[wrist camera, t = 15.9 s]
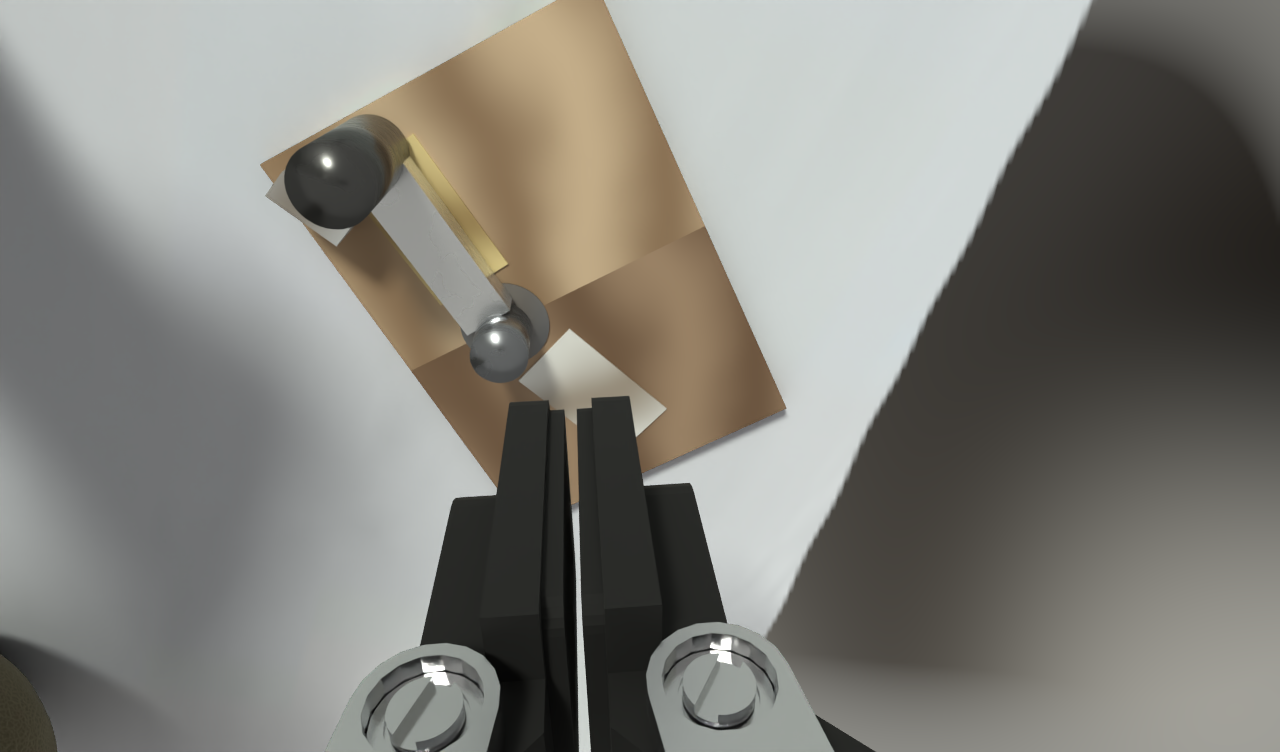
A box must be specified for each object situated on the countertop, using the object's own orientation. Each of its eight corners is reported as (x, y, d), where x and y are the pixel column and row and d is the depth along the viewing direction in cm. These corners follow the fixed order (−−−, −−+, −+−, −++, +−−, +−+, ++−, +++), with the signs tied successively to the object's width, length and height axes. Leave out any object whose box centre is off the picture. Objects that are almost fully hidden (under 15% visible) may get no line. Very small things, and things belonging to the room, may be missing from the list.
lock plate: (525, 516, 39) (522, 556, 36) (266, 160, 30) (235, 178, 27) (782, 400, 37) (800, 433, 35) (593, -20, 28) (596, -22, 25)
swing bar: (545, 333, 33) (541, 398, 28) (494, 362, 34) (480, 432, 28) (378, 99, 28) (335, 125, 23) (320, 138, 28) (265, 171, 23)
